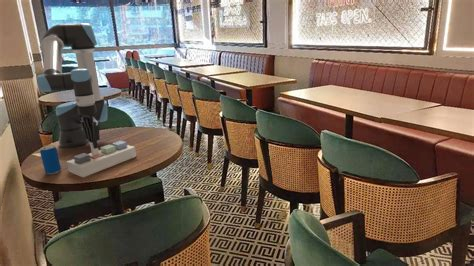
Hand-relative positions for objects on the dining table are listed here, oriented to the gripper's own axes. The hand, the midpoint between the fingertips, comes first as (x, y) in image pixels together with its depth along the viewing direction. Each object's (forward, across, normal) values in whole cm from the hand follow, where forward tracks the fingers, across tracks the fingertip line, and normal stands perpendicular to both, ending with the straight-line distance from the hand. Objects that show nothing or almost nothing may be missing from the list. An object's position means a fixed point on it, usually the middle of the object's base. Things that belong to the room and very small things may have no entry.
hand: (95, 154), depth 153 cm
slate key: (+1, 0, +13) cm, 13 cm away
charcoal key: (+1, 0, -6) cm, 7 cm away
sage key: (+1, 0, +6) cm, 7 cm away
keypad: (+6, 0, +3) cm, 7 cm away
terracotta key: (+3, 0, 0) cm, 3 cm away
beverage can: (+6, -12, -15) cm, 20 cm away
